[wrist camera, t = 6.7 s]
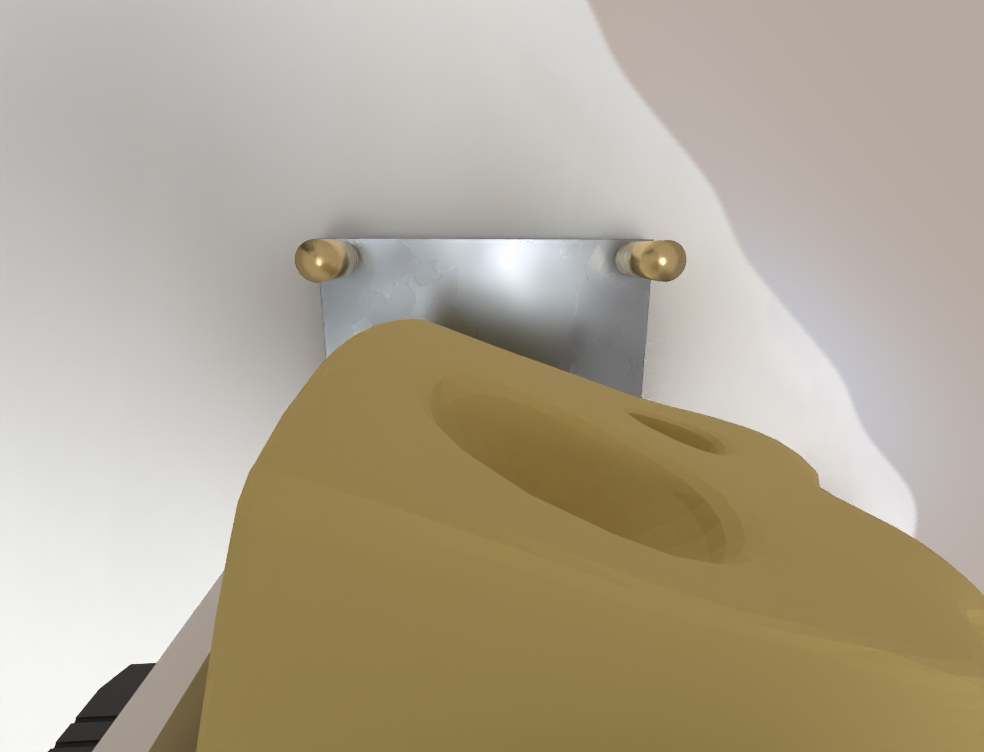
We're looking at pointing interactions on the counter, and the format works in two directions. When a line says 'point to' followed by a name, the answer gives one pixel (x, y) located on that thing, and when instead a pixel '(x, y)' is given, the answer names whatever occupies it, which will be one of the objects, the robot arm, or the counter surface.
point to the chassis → (502, 295)
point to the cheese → (565, 578)
